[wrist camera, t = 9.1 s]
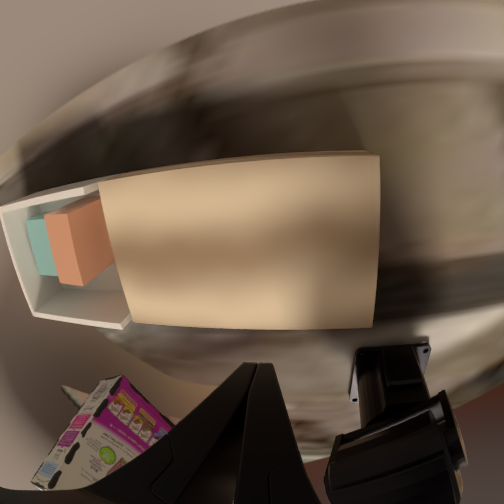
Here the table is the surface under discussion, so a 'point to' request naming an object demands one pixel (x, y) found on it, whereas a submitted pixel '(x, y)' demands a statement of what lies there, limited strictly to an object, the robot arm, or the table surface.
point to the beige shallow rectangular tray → (249, 240)
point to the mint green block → (41, 245)
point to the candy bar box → (102, 436)
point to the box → (49, 287)
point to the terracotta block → (79, 240)
